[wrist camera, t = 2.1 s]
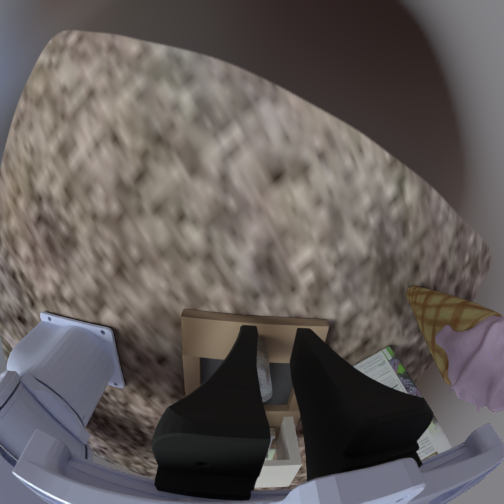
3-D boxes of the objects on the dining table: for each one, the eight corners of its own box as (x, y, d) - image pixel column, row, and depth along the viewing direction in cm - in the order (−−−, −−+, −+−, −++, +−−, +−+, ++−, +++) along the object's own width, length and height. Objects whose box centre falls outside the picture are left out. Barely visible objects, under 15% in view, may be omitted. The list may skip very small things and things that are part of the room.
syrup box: (397, 374, 25) (453, 469, 11) (352, 399, 26) (392, 503, 12) (388, 343, 24) (459, 451, 10) (337, 372, 24) (384, 493, 11)
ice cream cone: (372, 322, 23) (457, 446, 8) (386, 258, 21) (514, 363, 7) (425, 317, 23) (513, 411, 9) (441, 259, 21) (556, 337, 7)
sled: (211, 449, 26) (208, 484, 21) (212, 333, 21) (204, 379, 15) (267, 451, 26) (269, 486, 21) (297, 338, 21) (310, 384, 16)
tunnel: (196, 439, 26) (190, 482, 20) (194, 411, 24) (186, 460, 18) (283, 443, 26) (288, 486, 20) (293, 416, 25) (301, 464, 19)
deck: (194, 461, 30) (193, 468, 28) (183, 309, 22) (180, 316, 20) (276, 465, 30) (277, 472, 29) (325, 319, 22) (329, 327, 21)
